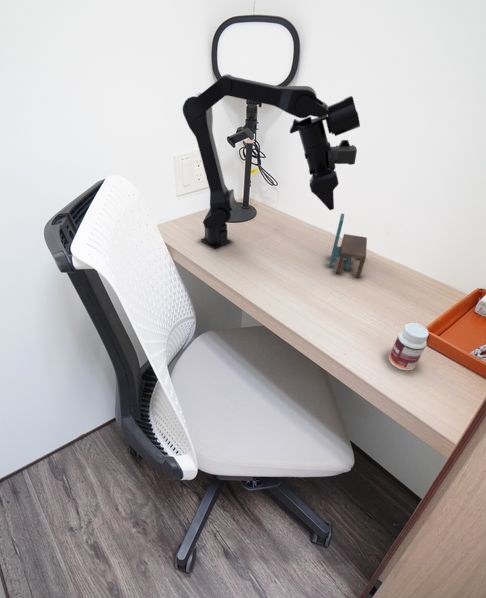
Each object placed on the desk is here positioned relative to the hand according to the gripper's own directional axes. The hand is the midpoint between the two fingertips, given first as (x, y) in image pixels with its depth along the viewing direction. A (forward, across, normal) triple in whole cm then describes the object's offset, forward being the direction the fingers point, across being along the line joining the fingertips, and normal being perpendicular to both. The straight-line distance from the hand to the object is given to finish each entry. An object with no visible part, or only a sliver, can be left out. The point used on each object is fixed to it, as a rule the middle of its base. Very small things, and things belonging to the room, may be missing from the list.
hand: (330, 202), depth 94 cm
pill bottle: (+20, -40, -7) cm, 45 cm away
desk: (+17, -5, 0) cm, 18 cm away
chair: (+16, -5, +2) cm, 17 cm away
